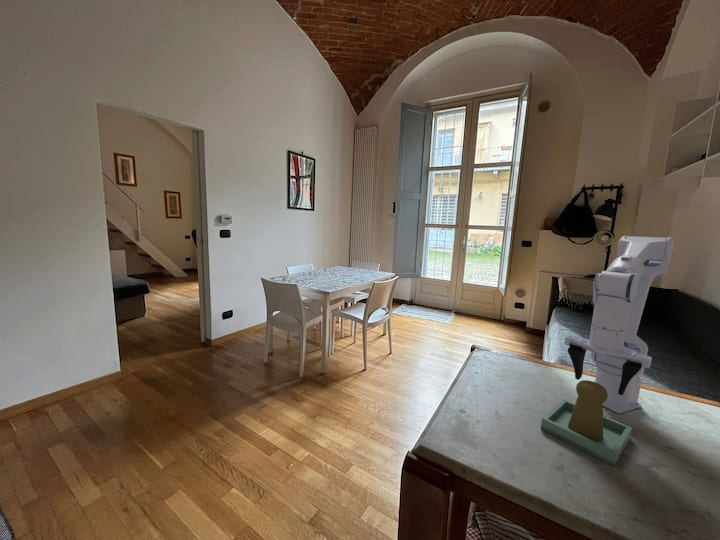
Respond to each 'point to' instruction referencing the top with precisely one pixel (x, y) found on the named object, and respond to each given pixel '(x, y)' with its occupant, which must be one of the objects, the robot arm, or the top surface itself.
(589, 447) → the tray
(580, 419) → the cork
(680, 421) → the top surface
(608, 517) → the top surface
